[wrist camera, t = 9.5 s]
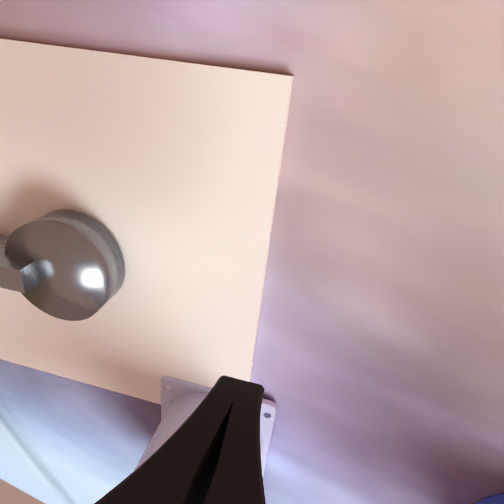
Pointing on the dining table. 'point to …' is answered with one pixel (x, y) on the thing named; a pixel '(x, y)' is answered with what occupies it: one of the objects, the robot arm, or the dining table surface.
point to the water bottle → (493, 499)
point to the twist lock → (62, 264)
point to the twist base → (144, 208)
